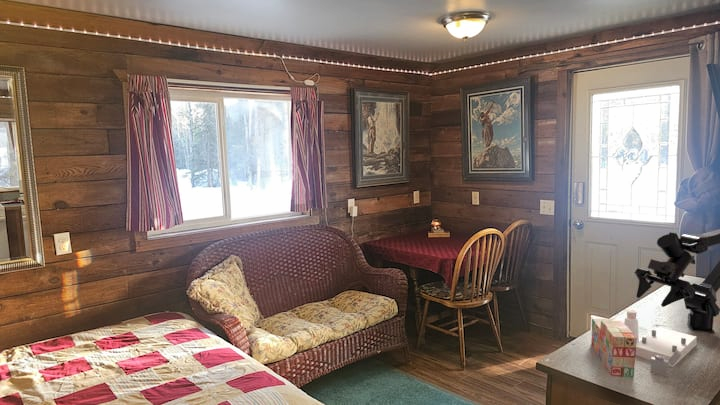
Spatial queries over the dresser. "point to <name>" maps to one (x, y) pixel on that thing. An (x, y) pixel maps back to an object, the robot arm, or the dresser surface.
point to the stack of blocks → (614, 346)
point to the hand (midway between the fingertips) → (649, 301)
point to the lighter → (663, 363)
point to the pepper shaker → (632, 323)
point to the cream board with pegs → (665, 344)
